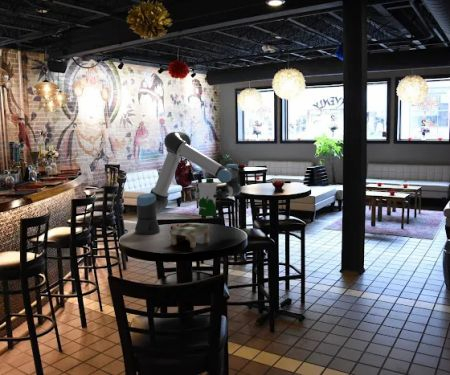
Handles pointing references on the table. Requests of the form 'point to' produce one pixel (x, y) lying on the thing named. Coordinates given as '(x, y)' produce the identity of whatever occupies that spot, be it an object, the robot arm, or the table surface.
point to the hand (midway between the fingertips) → (202, 196)
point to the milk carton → (207, 198)
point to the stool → (190, 233)
